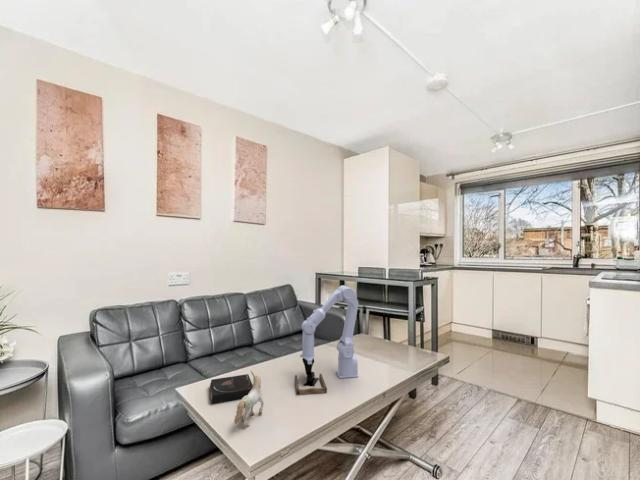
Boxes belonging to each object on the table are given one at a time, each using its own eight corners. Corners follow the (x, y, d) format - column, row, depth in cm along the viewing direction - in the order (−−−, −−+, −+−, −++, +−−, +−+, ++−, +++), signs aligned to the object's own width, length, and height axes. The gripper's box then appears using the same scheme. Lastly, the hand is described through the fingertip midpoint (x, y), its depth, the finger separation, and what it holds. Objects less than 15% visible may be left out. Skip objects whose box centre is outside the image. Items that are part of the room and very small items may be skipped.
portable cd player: (209, 388, 135) (209, 379, 135) (248, 382, 142) (248, 374, 142) (211, 406, 120) (211, 395, 120) (253, 398, 126) (253, 388, 126)
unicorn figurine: (267, 404, 120) (267, 370, 121) (253, 433, 101) (254, 393, 101) (250, 403, 121) (250, 370, 121) (233, 432, 101) (233, 392, 102)
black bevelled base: (315, 389, 134) (315, 379, 135) (299, 388, 136) (299, 378, 136) (320, 378, 147) (320, 368, 147) (306, 376, 148) (306, 367, 148)
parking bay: (321, 377, 146) (321, 373, 146) (326, 393, 130) (326, 388, 130) (294, 379, 144) (294, 375, 144) (297, 395, 128) (297, 390, 128)
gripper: (298, 341, 152) (298, 368, 151) (301, 350, 138) (301, 380, 137) (312, 341, 153) (312, 367, 152) (316, 350, 139) (316, 379, 138)
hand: (308, 374), depth 145 cm, fingers closed
